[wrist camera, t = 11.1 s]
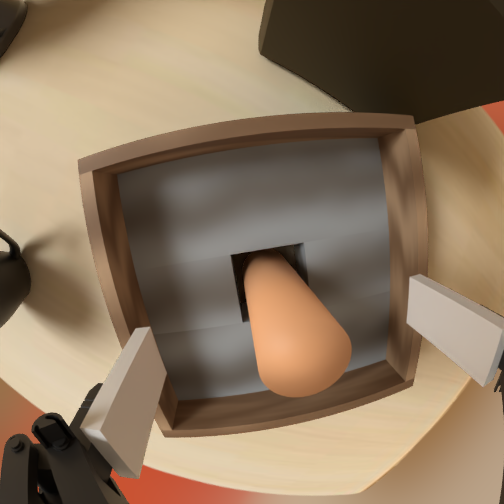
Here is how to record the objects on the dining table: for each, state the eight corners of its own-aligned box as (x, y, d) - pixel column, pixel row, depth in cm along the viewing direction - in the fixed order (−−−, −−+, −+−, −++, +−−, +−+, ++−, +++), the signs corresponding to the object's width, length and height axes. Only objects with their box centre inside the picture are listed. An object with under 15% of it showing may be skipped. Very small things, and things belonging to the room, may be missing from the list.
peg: (238, 252, 23) (250, 330, 10) (284, 244, 24) (352, 309, 10) (246, 295, 24) (264, 404, 11) (289, 287, 25) (350, 384, 11)
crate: (123, 169, 21) (77, 159, 13) (363, 135, 22) (413, 115, 14) (177, 383, 26) (164, 437, 18) (376, 345, 27) (412, 385, 19)
